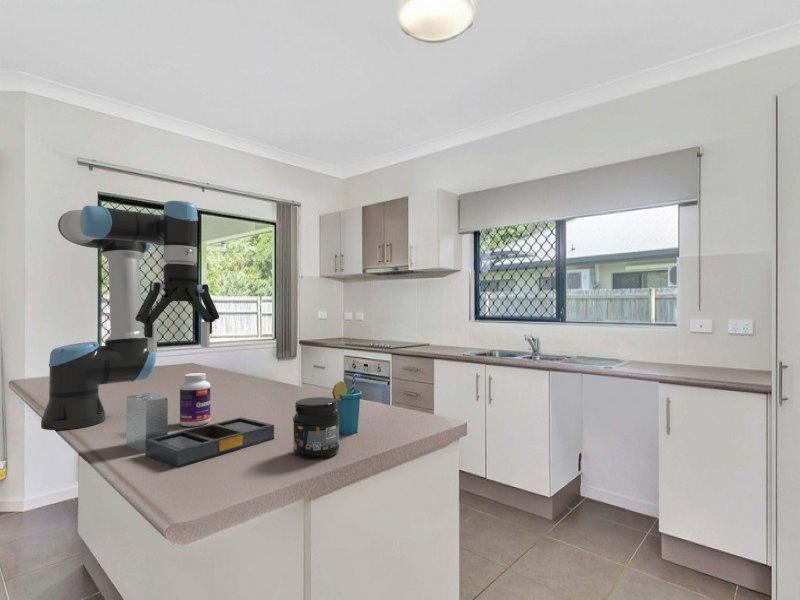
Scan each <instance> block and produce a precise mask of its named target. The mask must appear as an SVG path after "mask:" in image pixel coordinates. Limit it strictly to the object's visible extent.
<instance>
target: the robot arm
mask: <svg viewBox="0 0 800 600" xmlns="http://www.w3.org/2000/svg"><path fill="white" fill-rule="evenodd" d="M163 207H164V208H163V211H162V213H163V214H156V213H149V212H140V211H133V210H126V209H119V208H118V209H117V208H111V207H105V206H101V205H85V206H83V208H82V209H73V210H68V211H67V212H65V213H63V214H62V215H61V216H60V218H59V219H58V222H57V228H58V231H59V233H60V235H61V236H62V237H63V238H64V239H65V240H67V241H68V242H70V243H73V244H75V245H77V246H80V247H86V248H92V249H101V250H102V251H101V253H102V256H103V257H104V258H105V259H107V262H108V263H107V264H108V265H107V266H108V285H109V286H108V290H109V295H108V296H109V319H110V322H109V324H110V335H109V336H108V337H107V338H106V339H105V341H104V345H101V346H100V343H99V342H97V341H88V342H81V343H72V344H68V345H61V346H58V347H55V348H54V349H52V350H51V351H50V354H49V360H48V361H49V363H48V367H49V383H48V384H49V385H48V386H49V389H48V390H49V391H48V392H49V394H48V395H49V396H48V402H47V404H46V408H45V409H44V413H43V415H42V417H41V421H40V426H41V427H40V429H43V430H46V431H60V430H61V431H62V430H63V431H64V430H72V429H79V428H80V429H81V428H87V427H90V426H94V425H98V424H101V423H103V422H105V420H106V411H105V408H104V405H103V403H102V401H101V398H100V395H99V386H100V385H110V384H118V383H127V382H129V383H130V382H135V381H142V380H143V381H144V380H145V379H146V380H147V379H148V378H149V377H150V376H151V375H152V372H153V371H154V369H155V363H156V357H157V355H156V354H157V351H158V324H157V323H155V322H156V320H157V319H158V318H159V316H161V314H163V312H164V311H165V310H166V308H167V307H168V306H169V305H170V304H171V303H172V302H188V303H189V304H190V305H191V306H192V308H193V309H194V310H195V312H197V313H198V315H199V316H200V318H202V320H203V321H201V322H200V347H201V348H210V344H211V343H210V340H211V339H210V337H211V336H210V335H212V333H213V323H214V322H215V321H216V320H219V319H220V315H219V312H218V310H217V308H216V305H215V304H214V303H215V302H214V301H213V299H212V296H211V295H210V290H209V285H208V284H201V283H200V284H199V285H198V284H197V279H198V266H197V265H195V264H197V263H198V221H199V216H198V207H197V206H196V204H194V203H193V202H190V201H189V202H188V201H183V200H168V201H166V202H165V203H164V206H163ZM151 244H153V245H156V246H163V262H164V263H166V264H164V265H163V282H162V283H160V282H159V281H156V282H154V281H153V282H150V284H149V290H148V291H149V292H148V293H147V295H146V297H145V299H144V301H143V303H142V299H141V298H142V296H141V293H142V292H141V269H140V260H141V259H143V258H144V257H145V253H147V252H148V251H150V249H151ZM162 290H163V292H164V294H163V296H162V297H160V300H159V301H158V303H157V304H156V305H155V302H156V301H157V299H158V297H159V294H160V293H161V292H162ZM196 292H198V294H199V296H200V298H201V301H202V302H201V301H200V298H199V297H198V295H197V294H196ZM154 305H155V306H154ZM143 325H144V326H143Z"/></svg>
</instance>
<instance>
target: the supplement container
mask: <svg viewBox="0 0 800 600" xmlns="http://www.w3.org/2000/svg"><path fill="white" fill-rule="evenodd" d="M294 404H295V405H294V408H295V409H294V411H295V413H294V415H293V417H292V422H293V447H292V448H293V449H292V451H293V454H294V455H295V456H296V457H298V458H300V459H303V460H311V461H312V460H314V461H315V460H323V459H327V458H330V457H332V456H334V455H336V454H337V453H338V452H339V450H340V433H339V413H338V412H337V400H336V399H334V397H328V396H318V397H317V396H315V397H306V398H301V399H299V400H296V401H295V403H294Z"/></svg>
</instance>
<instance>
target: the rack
mask: <svg viewBox="0 0 800 600" xmlns="http://www.w3.org/2000/svg"><path fill="white" fill-rule="evenodd" d="M274 439H275V424H272V423H267V422H263V421H259V420H254V419H250V418H246V417H241V416H240V417H236V418H232V419H228V420H224V421H219V422H216V423H211V424H205V425H201V426H196V427H194V428H190V429H185V430H182V431H178V432H177V431H176V432H173V433H168V435H163V436H159V437H155V438H151V439H146V440H145V452H144V453H145V456H146V457H148V458H151V459H154V460H155V461H158V462H161V463H163V464H165V465H168V466H170V467H172V468H176V469H180V468H183V467H186V466H189V465H193V464H196V463H199V462H203V461H206V460H209V459H214V458H216V457H219V456H222V455H226V454H229V453H232V452H235V451H239V450H243V449H246V448H249V447H252V446H255V445H259V444H262V443H265V442H269V441H272V440H274Z"/></svg>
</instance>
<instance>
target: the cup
mask: <svg viewBox="0 0 800 600" xmlns="http://www.w3.org/2000/svg"><path fill="white" fill-rule="evenodd" d="M360 377H362V374H361V373H354V375H353V377H352V383H351V389H348V385H347V383H346V382H343V381H338V382H336V383H335V384H334V386H333V389H332V392H331V393H332V396H333V397H332V398H333V399H336V400H337V409H336V411H337V412H338V413H339V435H346V436H347V435H354V434H358V428H359V417H360V406H361V405H360V403H361V398H362V390H357V389H355V385H356V379H357V378H360Z"/></svg>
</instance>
